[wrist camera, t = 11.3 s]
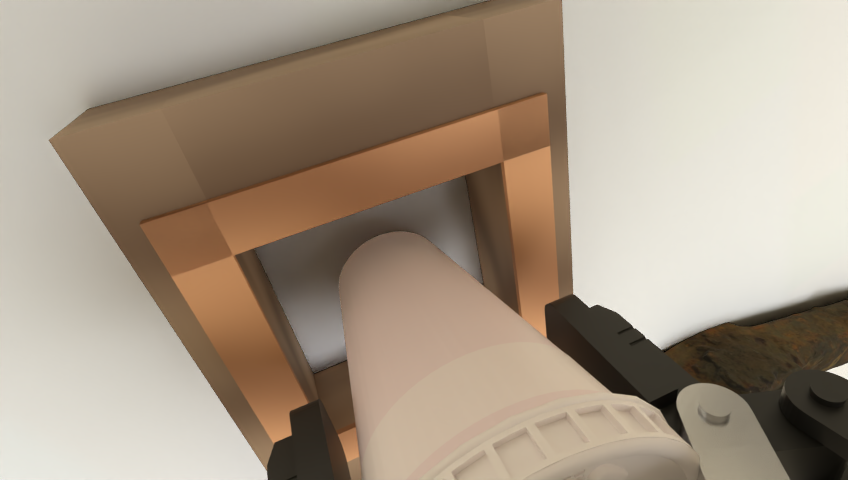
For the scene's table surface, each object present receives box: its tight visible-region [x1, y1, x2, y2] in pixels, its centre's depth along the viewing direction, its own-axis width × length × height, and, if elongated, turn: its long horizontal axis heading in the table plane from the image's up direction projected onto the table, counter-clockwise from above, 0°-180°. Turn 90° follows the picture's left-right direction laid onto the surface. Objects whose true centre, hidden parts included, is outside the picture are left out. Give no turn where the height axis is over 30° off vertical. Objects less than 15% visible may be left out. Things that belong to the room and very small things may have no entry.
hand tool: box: [664, 299, 848, 394], centre depth 27 cm, size 19×4×5 cm, turn 86°
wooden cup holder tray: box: [49, 0, 573, 480], centre depth 20 cm, size 30×12×3 cm, turn 12°
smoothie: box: [339, 231, 700, 480], centre depth 10 cm, size 6×6×14 cm
